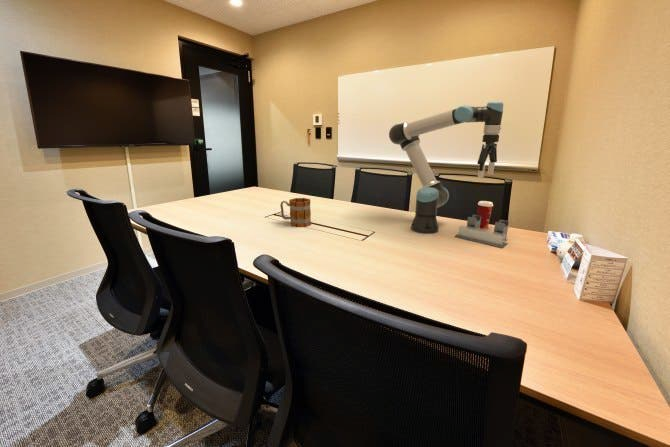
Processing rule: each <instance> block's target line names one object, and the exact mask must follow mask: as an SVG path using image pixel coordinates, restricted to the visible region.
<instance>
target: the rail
mask: <svg viewBox="0 0 670 447" xmlns="http://www.w3.org/2000/svg"><path fill="white" fill-rule="evenodd" d="M457 230H458V231H457V234H458V236H462V237H467V238H471V239H475V240H479V241H484V242H488V243H492V244H496V245H501V246H502V245H503V244H504V242H505V241H506V240H505V236H506V234H502V233H498V232H494V230H487V229H483V228H480V229H479V228H474V227H469V226H467V225H463V224H461V225H459V226H458V229H457ZM505 243H506V242H505Z"/></svg>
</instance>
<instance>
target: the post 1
mask: <svg viewBox="0 0 670 447" xmlns="http://www.w3.org/2000/svg"><path fill="white" fill-rule="evenodd" d="M480 221H481V216H478V214H472V216H467V221H466V226H469V227H474V228H479V229H481V228H480Z"/></svg>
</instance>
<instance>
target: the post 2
mask: <svg viewBox="0 0 670 447" xmlns="http://www.w3.org/2000/svg"><path fill="white" fill-rule="evenodd" d="M509 225H510V220H509V221H508V220H504V219H499V220H498V221H495V223H494V229H493V232H498V233H502V234H506V236H505V241H506V240H507V236H508V229H509Z"/></svg>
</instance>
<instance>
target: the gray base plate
mask: <svg viewBox="0 0 670 447" xmlns="http://www.w3.org/2000/svg"><path fill="white" fill-rule="evenodd" d="M454 238H457V239H458V238H459V239H461V240H465V241H471V242H474V243H478V244H482V245H486V246H491V247H495V248H499V249H503V248H505V247H506V246H507V245H508V242H504V244H503V245H502V246H501V245H496V244H492V243H488V242H484V241H479V240H475V239H471V238H467V237H462V236H458V233H457V234H454Z"/></svg>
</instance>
